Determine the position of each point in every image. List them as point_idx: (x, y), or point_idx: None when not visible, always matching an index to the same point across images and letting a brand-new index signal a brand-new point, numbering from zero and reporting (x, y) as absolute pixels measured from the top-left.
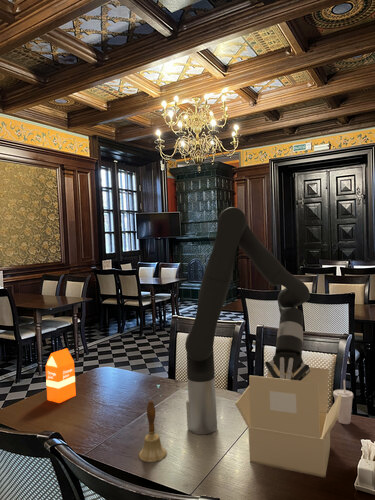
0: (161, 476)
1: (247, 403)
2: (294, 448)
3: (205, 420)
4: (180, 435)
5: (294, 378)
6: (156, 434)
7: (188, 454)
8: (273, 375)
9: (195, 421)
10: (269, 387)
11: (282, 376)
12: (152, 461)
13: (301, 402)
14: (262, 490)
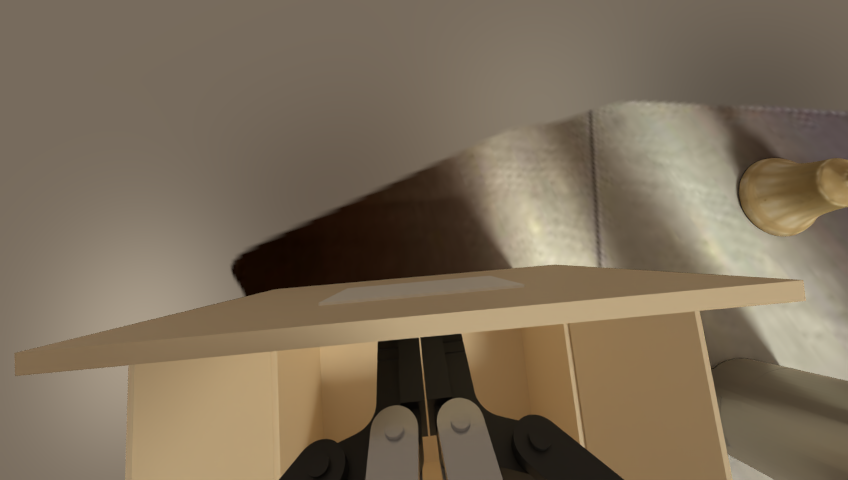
0: (690, 124)
1: (648, 387)
2: None
3: (762, 383)
4: (780, 328)
5: (324, 458)
6: (841, 192)
7: (691, 240)
8: (572, 446)
9: (791, 369)
10: (535, 288)
11: (467, 460)
12: (754, 164)
13: (298, 301)
14: (445, 178)
